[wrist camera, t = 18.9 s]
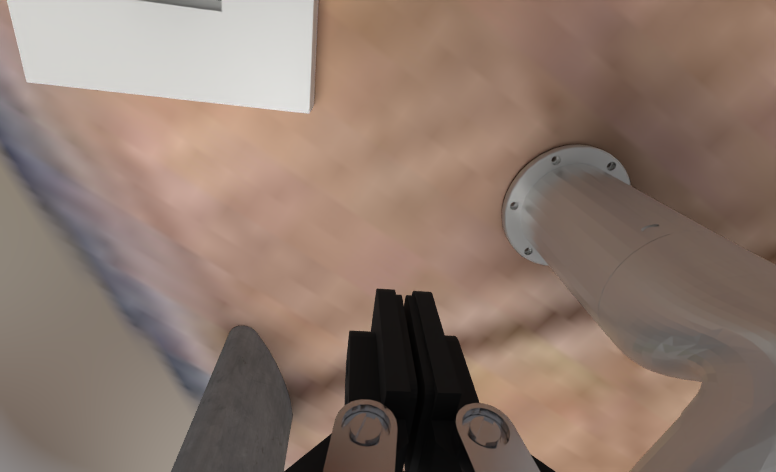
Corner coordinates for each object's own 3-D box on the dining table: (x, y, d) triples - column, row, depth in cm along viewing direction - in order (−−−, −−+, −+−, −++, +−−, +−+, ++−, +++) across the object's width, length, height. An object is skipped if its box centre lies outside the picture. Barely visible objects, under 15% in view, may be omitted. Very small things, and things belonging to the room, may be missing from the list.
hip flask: (224, 328, 45) (138, 523, 27) (260, 321, 45) (197, 511, 27) (271, 426, 52) (227, 631, 34) (302, 419, 52) (275, 622, 34)
